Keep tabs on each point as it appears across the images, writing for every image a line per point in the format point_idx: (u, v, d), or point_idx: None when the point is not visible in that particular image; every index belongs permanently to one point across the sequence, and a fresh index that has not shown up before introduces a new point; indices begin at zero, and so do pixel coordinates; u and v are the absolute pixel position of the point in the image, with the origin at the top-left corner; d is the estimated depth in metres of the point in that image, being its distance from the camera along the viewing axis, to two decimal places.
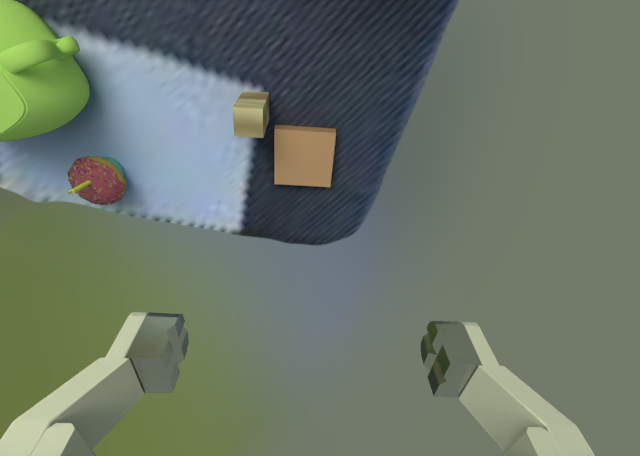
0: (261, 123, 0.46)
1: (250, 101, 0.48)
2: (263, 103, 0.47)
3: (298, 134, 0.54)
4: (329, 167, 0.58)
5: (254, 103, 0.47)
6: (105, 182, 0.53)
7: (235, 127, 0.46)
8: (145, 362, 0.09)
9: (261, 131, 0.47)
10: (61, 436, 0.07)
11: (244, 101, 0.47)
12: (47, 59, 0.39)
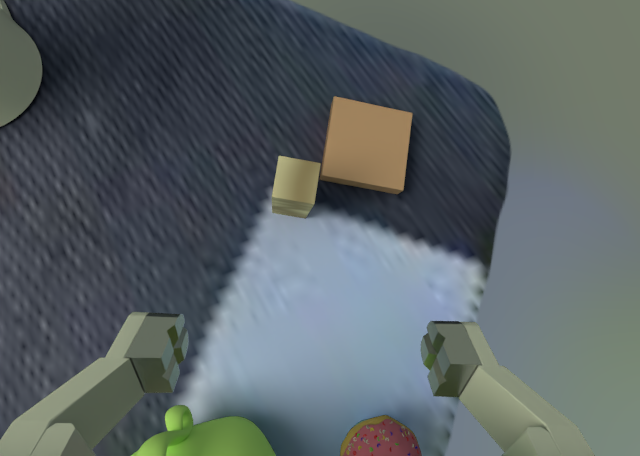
0: (299, 161, 0.32)
1: None
2: None
3: (332, 145, 0.40)
4: (382, 110, 0.41)
5: None
6: (381, 446, 0.32)
7: (301, 199, 0.31)
8: (145, 362, 0.09)
9: (310, 163, 0.32)
10: (61, 436, 0.07)
11: None
12: (165, 443, 0.25)
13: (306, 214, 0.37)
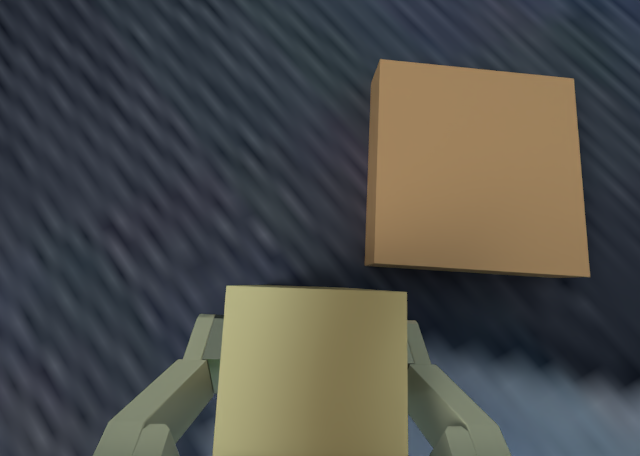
0: (315, 297, 0.07)
1: None
2: None
3: (391, 180, 0.15)
4: (500, 80, 0.17)
5: None
6: None
7: None
8: None
9: (366, 300, 0.07)
10: (158, 437, 0.07)
11: None
12: None
13: None
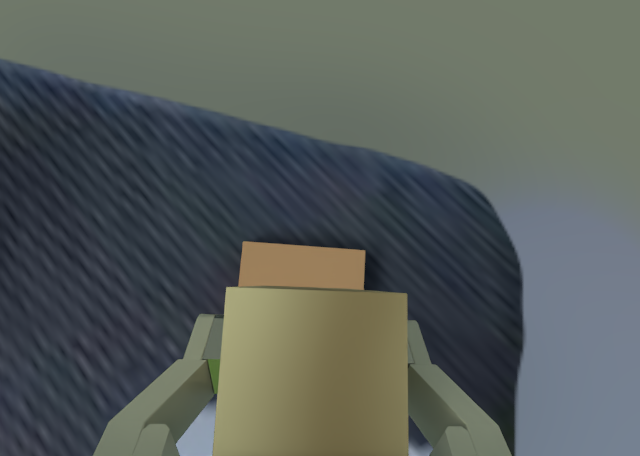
0: (315, 299, 0.07)
1: None
2: None
3: None
4: (318, 253, 0.27)
5: None
6: None
7: None
8: None
9: (366, 302, 0.07)
10: (158, 437, 0.07)
11: None
12: None
13: None
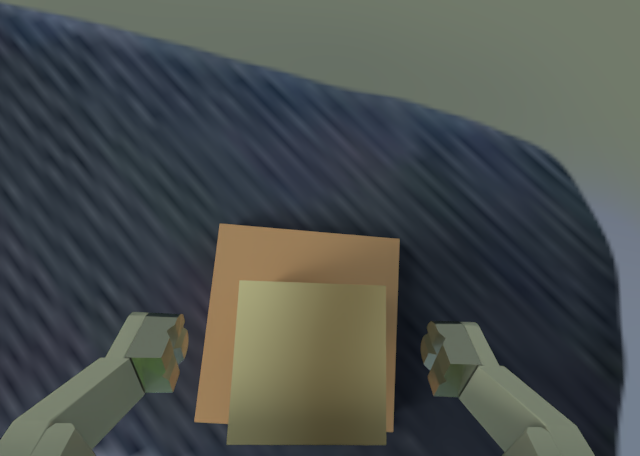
0: (311, 290, 0.09)
1: None
2: None
3: (218, 342, 0.17)
4: (330, 242, 0.18)
5: None
6: None
7: (337, 436, 0.08)
8: (145, 362, 0.09)
9: (352, 292, 0.09)
10: (61, 436, 0.07)
11: None
12: None
13: None
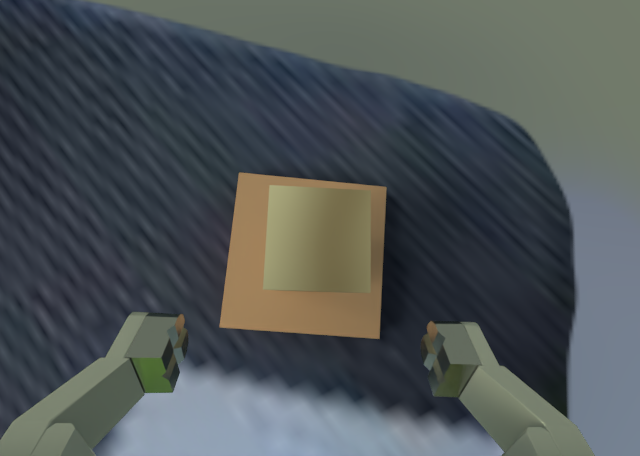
0: (319, 192, 0.13)
1: None
2: None
3: (238, 266, 0.21)
4: None
5: None
6: None
7: (337, 286, 0.12)
8: (145, 362, 0.09)
9: (347, 194, 0.13)
10: (61, 436, 0.07)
11: None
12: None
13: None
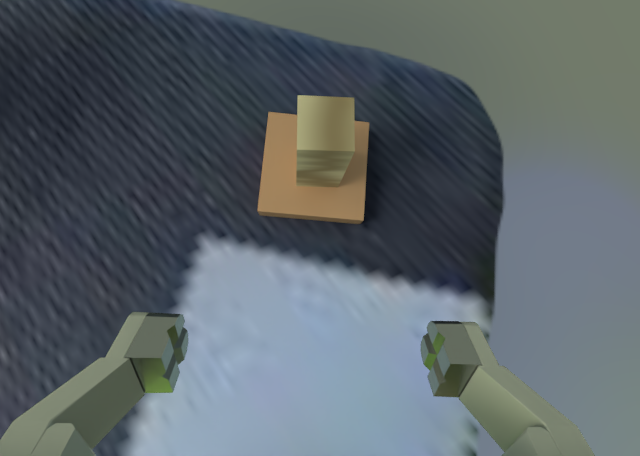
0: (325, 99, 0.23)
1: None
2: None
3: (269, 172, 0.32)
4: None
5: None
6: None
7: (336, 148, 0.23)
8: (145, 362, 0.09)
9: (341, 100, 0.24)
10: (61, 436, 0.07)
11: None
12: None
13: (340, 178, 0.29)
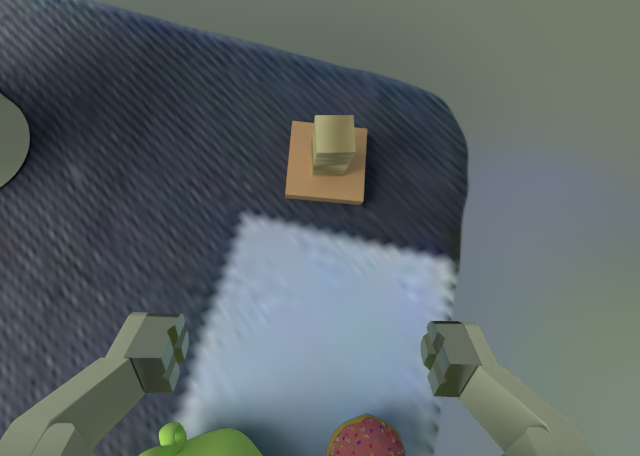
0: (333, 116, 0.34)
1: None
2: (313, 128, 0.37)
3: (293, 166, 0.43)
4: None
5: (314, 137, 0.37)
6: (361, 444, 0.34)
7: (343, 150, 0.34)
8: (145, 362, 0.09)
9: (344, 117, 0.35)
10: (61, 436, 0.07)
11: (314, 152, 0.37)
12: None
13: (344, 170, 0.40)
